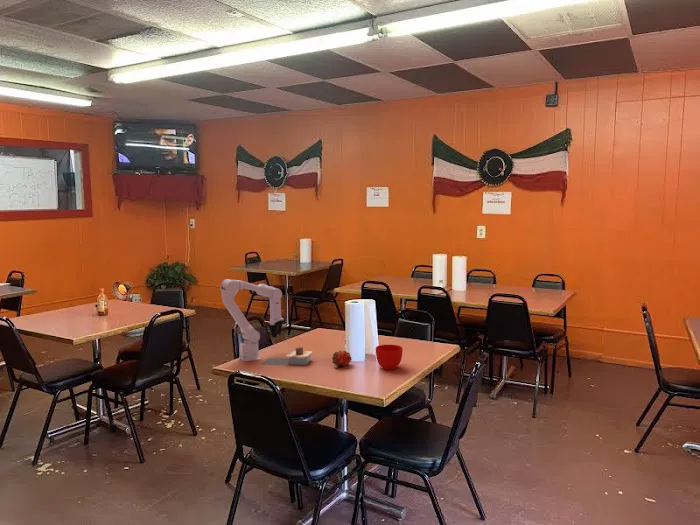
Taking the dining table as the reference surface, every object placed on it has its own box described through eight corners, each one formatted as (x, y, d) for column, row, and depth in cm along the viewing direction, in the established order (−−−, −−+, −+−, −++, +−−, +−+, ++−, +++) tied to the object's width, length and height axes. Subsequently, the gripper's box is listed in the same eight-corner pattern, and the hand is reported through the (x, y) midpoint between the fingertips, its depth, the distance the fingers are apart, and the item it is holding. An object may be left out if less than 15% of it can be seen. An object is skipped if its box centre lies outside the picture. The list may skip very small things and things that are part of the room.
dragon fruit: (331, 371, 263) (348, 370, 272) (341, 363, 259) (359, 362, 267) (325, 355, 267) (343, 354, 276) (336, 347, 262) (353, 347, 271)
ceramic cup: (410, 364, 269) (410, 344, 268) (395, 373, 254) (395, 352, 253) (386, 361, 275) (386, 341, 274) (370, 369, 261) (370, 349, 260)
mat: (260, 365, 270) (260, 364, 270) (268, 358, 283) (268, 357, 283) (286, 366, 268) (285, 365, 268) (292, 359, 281) (292, 358, 281)
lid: (285, 357, 269) (285, 350, 268) (291, 352, 279) (291, 345, 279) (307, 358, 267) (307, 350, 267) (312, 352, 278) (312, 345, 277)
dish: (288, 365, 270) (288, 357, 269) (293, 360, 279) (293, 352, 278) (306, 365, 268) (306, 357, 268) (310, 361, 277) (310, 353, 277)
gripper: (278, 312, 281) (280, 338, 282) (286, 307, 295) (287, 332, 296) (265, 313, 282) (266, 338, 283) (273, 307, 296) (275, 332, 297)
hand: (276, 335), depth 290 cm, fingers open, 7 cm apart
